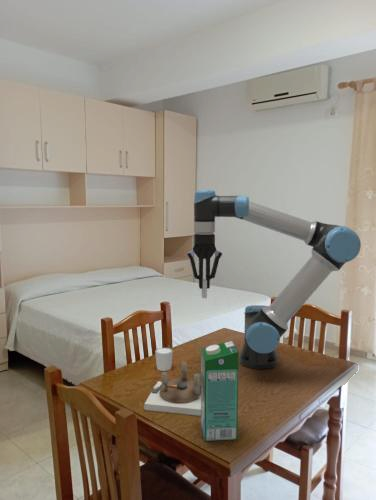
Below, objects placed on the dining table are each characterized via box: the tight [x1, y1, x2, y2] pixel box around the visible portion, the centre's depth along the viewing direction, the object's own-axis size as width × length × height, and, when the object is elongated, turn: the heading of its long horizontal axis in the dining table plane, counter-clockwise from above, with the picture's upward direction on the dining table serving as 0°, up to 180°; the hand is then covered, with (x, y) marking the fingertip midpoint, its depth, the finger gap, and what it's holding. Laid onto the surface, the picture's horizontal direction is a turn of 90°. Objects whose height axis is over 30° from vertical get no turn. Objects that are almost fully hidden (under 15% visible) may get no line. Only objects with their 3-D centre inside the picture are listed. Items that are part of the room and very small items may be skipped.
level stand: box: [143, 380, 201, 417], centre depth 130 cm, size 20×16×4 cm
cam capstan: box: [160, 361, 201, 403], centre depth 131 cm, size 14×14×8 cm
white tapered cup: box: [154, 347, 174, 372], centre depth 156 cm, size 7×7×7 cm
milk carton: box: [200, 340, 240, 442], centre depth 112 cm, size 9×9×25 cm
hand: (204, 297), depth 148 cm, fingers closed
